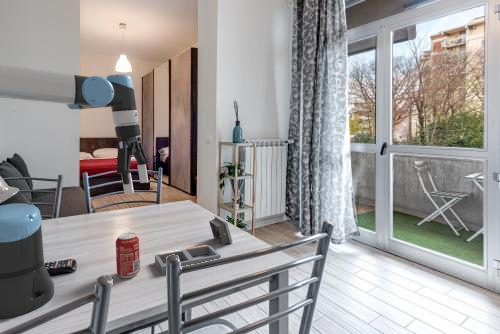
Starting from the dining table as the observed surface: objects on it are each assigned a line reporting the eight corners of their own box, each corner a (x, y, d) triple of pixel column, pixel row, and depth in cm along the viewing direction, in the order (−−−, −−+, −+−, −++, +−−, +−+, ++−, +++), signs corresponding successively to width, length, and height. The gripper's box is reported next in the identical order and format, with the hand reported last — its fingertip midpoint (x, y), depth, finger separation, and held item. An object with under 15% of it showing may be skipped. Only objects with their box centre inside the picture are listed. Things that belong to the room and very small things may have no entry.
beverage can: (132, 267, 96) (131, 230, 94) (144, 274, 92) (142, 235, 90) (112, 274, 91) (111, 235, 89) (124, 282, 87) (122, 241, 86)
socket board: (161, 274, 91) (161, 265, 91) (155, 262, 100) (154, 253, 99) (220, 262, 100) (220, 254, 100) (210, 252, 109) (209, 244, 108)
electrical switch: (233, 243, 117) (231, 220, 115) (220, 247, 114) (218, 223, 112) (221, 236, 125) (219, 214, 123) (210, 239, 122) (207, 217, 120)
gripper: (122, 126, 88) (134, 198, 92) (151, 121, 112) (159, 177, 117) (96, 128, 88) (109, 199, 92) (130, 122, 113) (139, 179, 117)
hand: (137, 187), depth 105 cm, fingers open, 13 cm apart
